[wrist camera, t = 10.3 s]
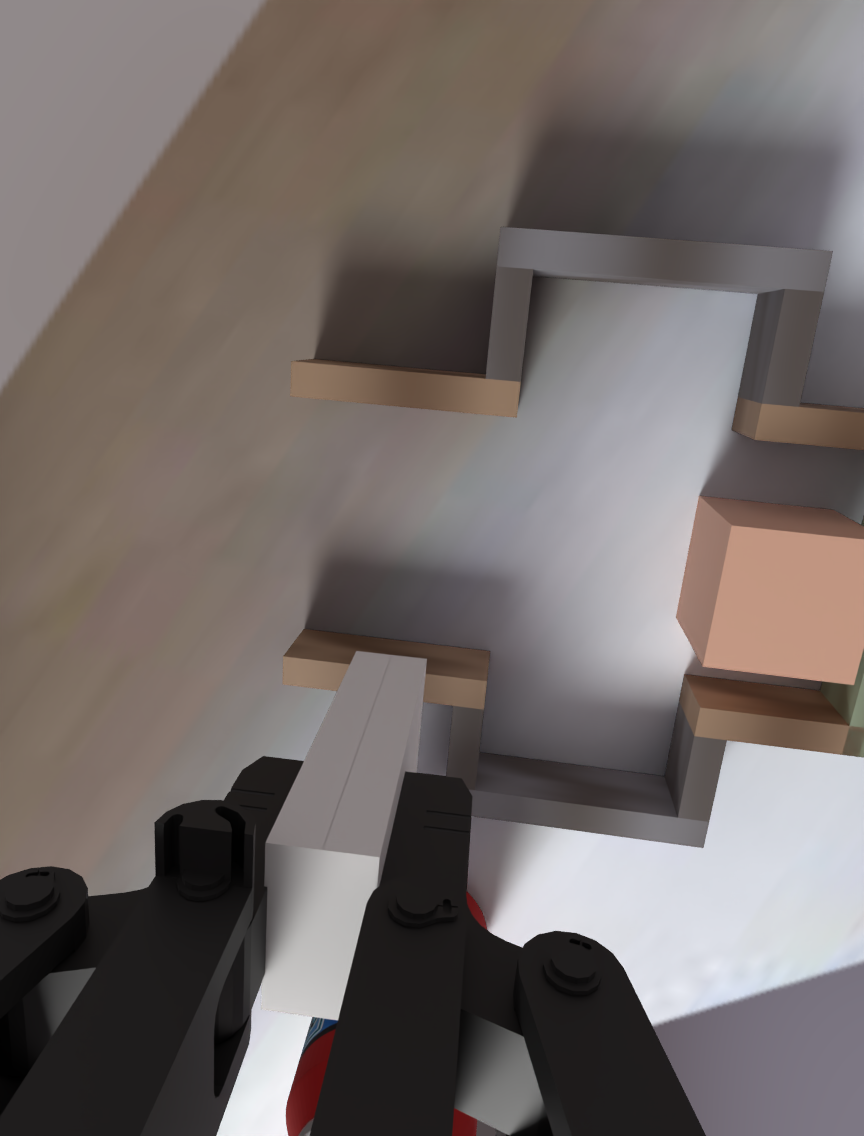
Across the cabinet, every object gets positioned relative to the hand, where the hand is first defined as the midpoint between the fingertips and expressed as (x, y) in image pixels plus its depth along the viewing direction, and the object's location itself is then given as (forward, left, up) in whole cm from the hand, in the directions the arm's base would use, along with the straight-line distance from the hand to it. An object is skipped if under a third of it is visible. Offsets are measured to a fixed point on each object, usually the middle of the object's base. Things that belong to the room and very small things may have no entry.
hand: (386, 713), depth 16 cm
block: (+12, 0, -16) cm, 20 cm away
